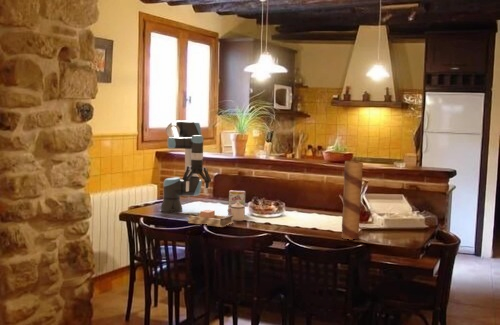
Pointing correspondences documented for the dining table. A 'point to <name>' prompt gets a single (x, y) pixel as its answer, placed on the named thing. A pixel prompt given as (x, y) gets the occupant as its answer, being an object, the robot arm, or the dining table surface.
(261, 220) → the dining table surface
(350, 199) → the wafer roll
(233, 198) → the candy bar box
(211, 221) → the chute
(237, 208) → the teacup with lid
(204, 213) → the block
